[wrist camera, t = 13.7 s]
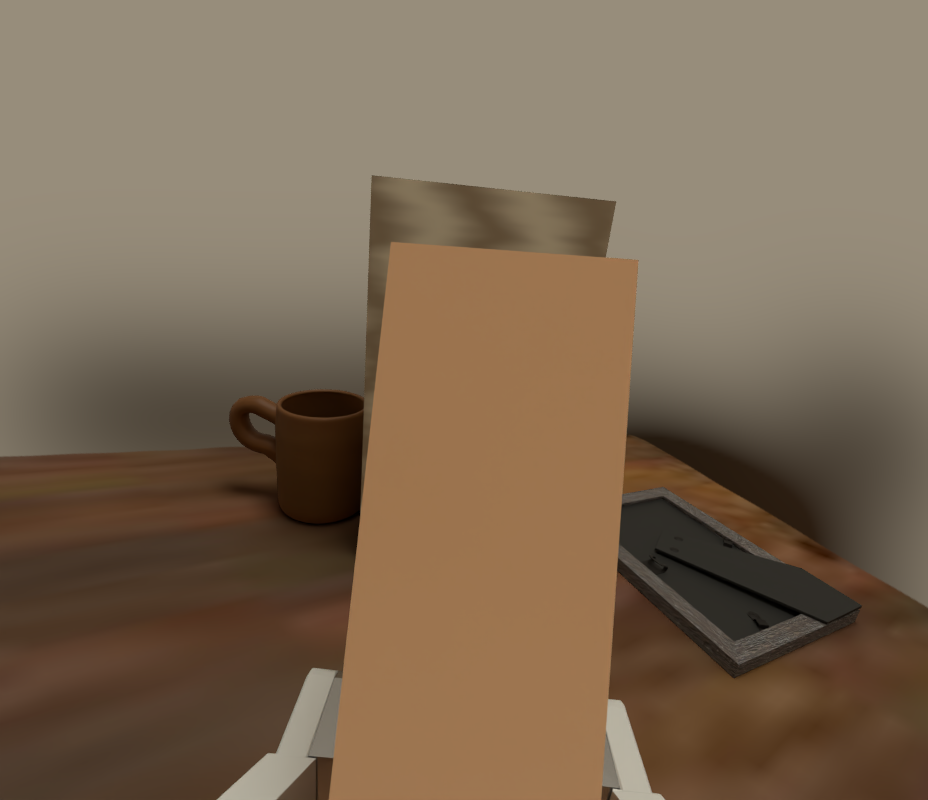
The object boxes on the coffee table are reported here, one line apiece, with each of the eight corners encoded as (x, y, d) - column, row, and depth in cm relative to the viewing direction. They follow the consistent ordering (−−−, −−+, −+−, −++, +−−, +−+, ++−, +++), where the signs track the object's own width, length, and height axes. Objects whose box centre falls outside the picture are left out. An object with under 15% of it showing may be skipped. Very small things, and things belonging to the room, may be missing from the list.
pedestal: (358, 556, 35) (371, 175, 26) (388, 479, 46) (403, 196, 38) (544, 575, 35) (616, 201, 26) (528, 494, 46) (574, 214, 38)
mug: (208, 512, 38) (199, 404, 35) (257, 470, 45) (253, 377, 42) (351, 533, 37) (354, 425, 34) (377, 487, 45) (381, 394, 42)
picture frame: (851, 627, 34) (659, 500, 49) (862, 605, 33) (664, 483, 48) (731, 684, 28) (556, 520, 43) (741, 659, 27) (560, 501, 43)
